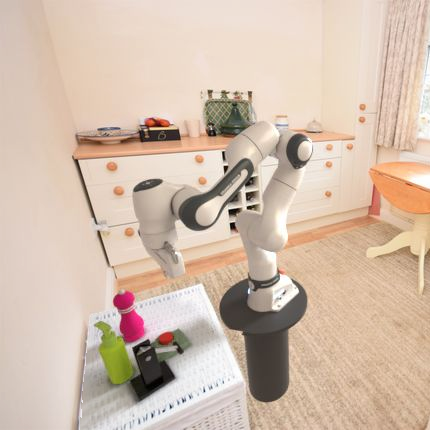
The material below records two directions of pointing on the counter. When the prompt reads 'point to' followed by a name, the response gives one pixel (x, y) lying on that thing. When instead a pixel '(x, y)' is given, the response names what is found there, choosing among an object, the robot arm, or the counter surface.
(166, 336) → the button
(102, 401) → the counter surface
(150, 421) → the counter surface
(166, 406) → the counter surface
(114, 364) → the soap dispenser
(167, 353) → the button block
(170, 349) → the tap lever
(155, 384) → the bracket
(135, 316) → the pepper mill
